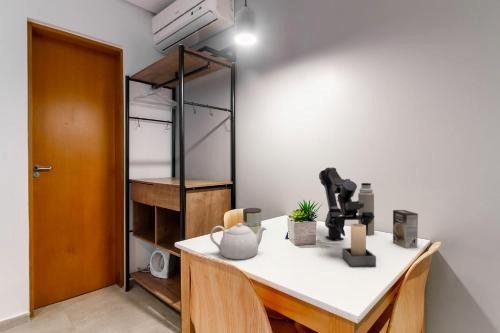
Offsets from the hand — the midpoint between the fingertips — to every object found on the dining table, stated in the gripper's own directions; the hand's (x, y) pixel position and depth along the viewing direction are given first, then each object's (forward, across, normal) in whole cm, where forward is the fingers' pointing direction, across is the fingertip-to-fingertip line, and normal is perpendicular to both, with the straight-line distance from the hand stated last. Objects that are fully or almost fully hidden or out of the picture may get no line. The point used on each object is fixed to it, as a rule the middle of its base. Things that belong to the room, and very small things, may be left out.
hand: (355, 235), depth 109 cm
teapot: (+1, -49, +13) cm, 51 cm away
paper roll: (+8, 0, +4) cm, 9 cm away
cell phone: (-17, -21, +32) cm, 42 cm away
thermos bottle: (-19, +20, +34) cm, 44 cm away
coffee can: (-19, -43, +34) cm, 58 cm away
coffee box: (-5, +30, +20) cm, 36 cm away
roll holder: (+9, 0, +5) cm, 10 cm away
